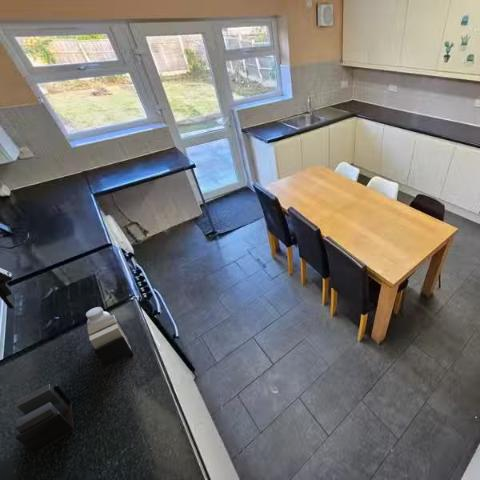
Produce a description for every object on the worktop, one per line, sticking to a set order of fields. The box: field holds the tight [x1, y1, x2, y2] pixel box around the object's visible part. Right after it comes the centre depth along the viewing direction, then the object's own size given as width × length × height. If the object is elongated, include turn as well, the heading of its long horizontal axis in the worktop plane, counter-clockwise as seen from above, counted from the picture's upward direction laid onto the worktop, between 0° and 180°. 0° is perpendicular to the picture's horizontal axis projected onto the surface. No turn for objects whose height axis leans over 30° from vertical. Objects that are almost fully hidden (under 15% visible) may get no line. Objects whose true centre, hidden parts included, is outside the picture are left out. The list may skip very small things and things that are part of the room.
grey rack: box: [14, 383, 75, 455], centre depth 72 cm, size 11×8×11 cm
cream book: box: [88, 324, 131, 349], centre depth 90 cm, size 2×8×11 cm, turn 133°
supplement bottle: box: [85, 306, 111, 326], centre depth 98 cm, size 7×7×13 cm
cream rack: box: [86, 314, 134, 368], centre depth 92 cm, size 11×8×12 cm
